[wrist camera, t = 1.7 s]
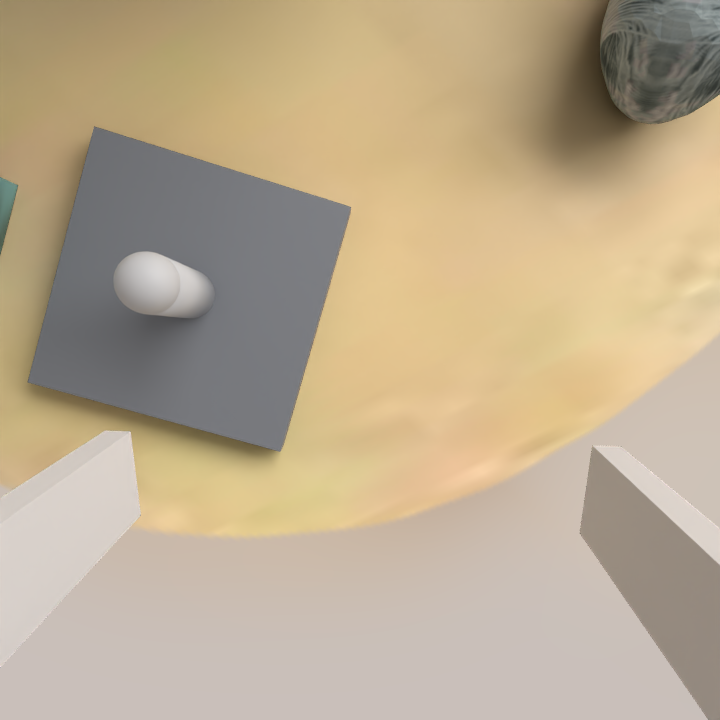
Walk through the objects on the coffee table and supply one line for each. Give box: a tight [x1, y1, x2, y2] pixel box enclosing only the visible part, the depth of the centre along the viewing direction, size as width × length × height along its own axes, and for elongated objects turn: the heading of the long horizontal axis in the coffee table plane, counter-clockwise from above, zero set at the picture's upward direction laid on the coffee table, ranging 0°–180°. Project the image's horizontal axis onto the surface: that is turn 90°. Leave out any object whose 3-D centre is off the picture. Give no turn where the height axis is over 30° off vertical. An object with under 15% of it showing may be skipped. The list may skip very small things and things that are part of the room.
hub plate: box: [28, 127, 351, 452], centre depth 24 cm, size 16×16×9 cm
